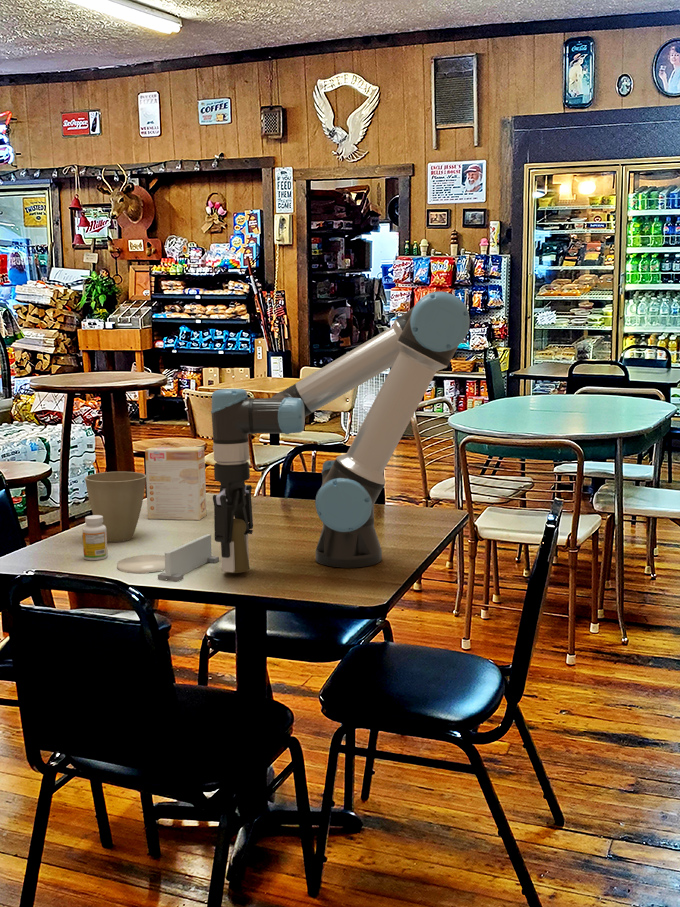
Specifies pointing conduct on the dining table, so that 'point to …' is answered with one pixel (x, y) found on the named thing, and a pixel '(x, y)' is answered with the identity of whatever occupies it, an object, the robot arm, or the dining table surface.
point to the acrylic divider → (187, 558)
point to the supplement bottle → (94, 538)
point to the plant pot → (117, 501)
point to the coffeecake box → (176, 483)
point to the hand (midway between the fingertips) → (235, 567)
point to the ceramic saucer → (142, 564)
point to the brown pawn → (239, 546)
